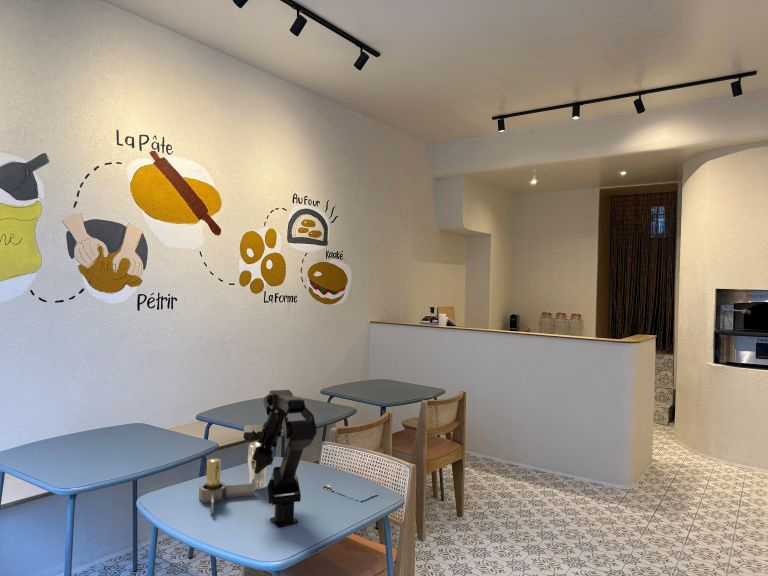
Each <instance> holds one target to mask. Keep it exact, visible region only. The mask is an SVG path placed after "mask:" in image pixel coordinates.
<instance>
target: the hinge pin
mask: <svg viewBox="0 0 768 576" xmlns="http://www.w3.org/2000/svg"><path fill="white" fill-rule="evenodd" d="M221 467H222V460H221V458H209V459H207V460H206V480H205V481H206V482H205V483H206V489H209V490H214V489H219V488H220V482H221V471H222V468H221Z"/></svg>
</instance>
